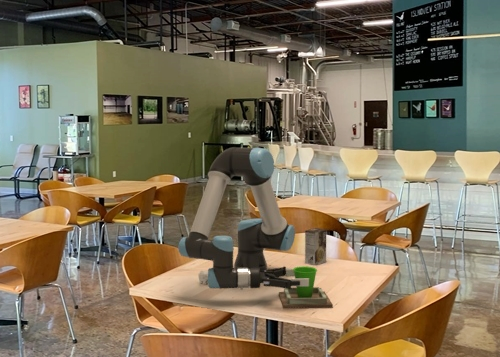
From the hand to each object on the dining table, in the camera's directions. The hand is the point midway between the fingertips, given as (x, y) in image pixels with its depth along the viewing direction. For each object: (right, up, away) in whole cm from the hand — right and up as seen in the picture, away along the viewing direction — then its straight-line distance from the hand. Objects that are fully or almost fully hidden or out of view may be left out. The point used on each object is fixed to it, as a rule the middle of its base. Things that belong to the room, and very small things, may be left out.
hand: (305, 277), depth 208 cm
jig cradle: (0, -9, +1) cm, 9 cm away
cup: (0, -8, +1) cm, 8 cm away
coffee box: (+11, -4, +59) cm, 60 cm away
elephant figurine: (-40, -7, +24) cm, 47 cm away
